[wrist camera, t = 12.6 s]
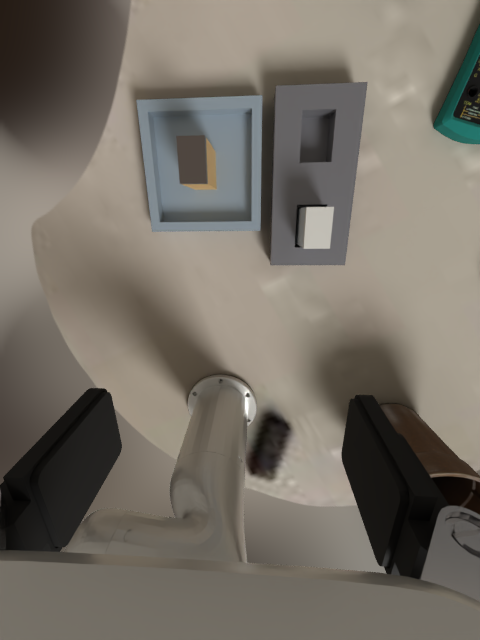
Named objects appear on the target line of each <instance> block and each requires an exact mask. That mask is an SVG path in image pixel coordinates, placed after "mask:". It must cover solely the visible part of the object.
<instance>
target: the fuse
mask: <svg viewBox="0 0 480 640" xmlns="http://www.w3.org/2000/svg"><path fill="white" fill-rule="evenodd" d="M333 213H334V207H304V208H297V215H296V232H295V243H297V244H298V245H299V246H301V247H302V248H303V249H330V242H331V232H332V223H333Z"/></svg>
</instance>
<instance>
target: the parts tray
mask: <svg viewBox="0 0 480 640" xmlns="http://www.w3.org/2000/svg"><path fill="white" fill-rule="evenodd" d="M136 101H137V109H138V117H139V126H140V134H141V142H142V151H143V159H144V168H145V176H146V184H147V193H148V201H149V209H150V218H151V226H152V232H161V231H260V223H261V152H262V95H256V96H229V97H202V98H176V99H149V100H136ZM190 135H205V136H206V138H207V139H208V141H209V142H210V144H211V145H212V147H213V149H214V150H215V152H216V184H217V190H194V189H192V188H189V187H187V186H184V185H182V184H180V181H179V167H178V154H177V140H176V136H190Z"/></svg>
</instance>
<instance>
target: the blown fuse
mask: <svg viewBox="0 0 480 640" xmlns="http://www.w3.org/2000/svg"><path fill="white" fill-rule="evenodd" d="M176 140H177V154H178V167H179V181H180V184H182V185H184V186H187V187H189V188H192V189H194V190H217V184H216V152H215V150H214V149H213V147H212V145H211V144H210V142H209V141H208V139H207V138H206V136H205V135H190V136H176Z"/></svg>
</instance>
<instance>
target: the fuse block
mask: <svg viewBox="0 0 480 640" xmlns="http://www.w3.org/2000/svg"><path fill="white" fill-rule="evenodd" d="M366 90H367V82H357V83H332V84H306V85H281V86H276V89H275V96H274V123H273V160H272V198H271V235H270V264H271V265H345V260H346V252H347V244H348V236H349V228H350V220H351V211H352V203H353V195H354V187H355V179H356V171H357V163H358V155H359V147H360V139H361V131H362V123H363V115H364V106H365V98H366ZM304 207H334V213H333V223H332V232H331V242H330V249H303V248H302V247H301V246H299V245H298V244H297V243H295V232H296V215H297V208H304Z"/></svg>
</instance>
